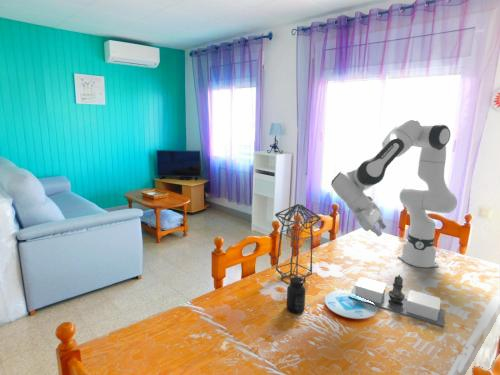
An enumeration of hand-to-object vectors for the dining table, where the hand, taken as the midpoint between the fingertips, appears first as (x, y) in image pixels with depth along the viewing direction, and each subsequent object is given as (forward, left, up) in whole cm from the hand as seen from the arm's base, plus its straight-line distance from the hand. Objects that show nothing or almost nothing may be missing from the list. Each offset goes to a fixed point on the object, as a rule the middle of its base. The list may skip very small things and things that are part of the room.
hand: (382, 231), depth 130 cm
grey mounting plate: (+9, +9, -26) cm, 28 cm away
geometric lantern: (+14, -32, -26) cm, 44 cm away
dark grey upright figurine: (+9, +9, -25) cm, 28 cm away
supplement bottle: (+35, -22, -26) cm, 49 cm away
